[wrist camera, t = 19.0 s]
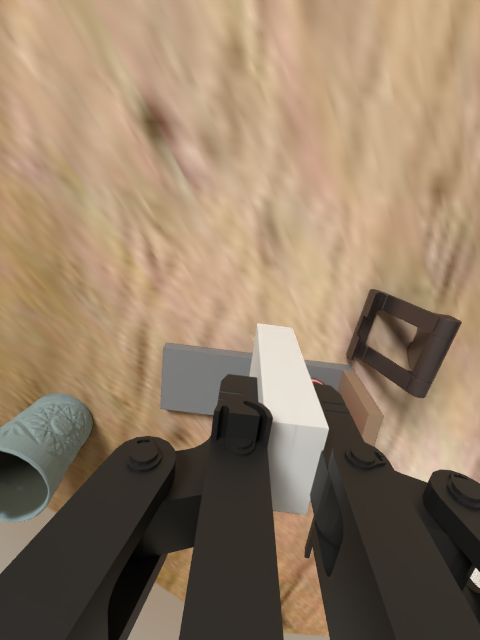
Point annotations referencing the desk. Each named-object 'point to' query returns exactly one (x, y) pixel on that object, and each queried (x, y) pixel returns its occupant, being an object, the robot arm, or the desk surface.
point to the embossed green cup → (39, 453)
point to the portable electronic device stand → (421, 352)
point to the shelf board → (215, 364)
